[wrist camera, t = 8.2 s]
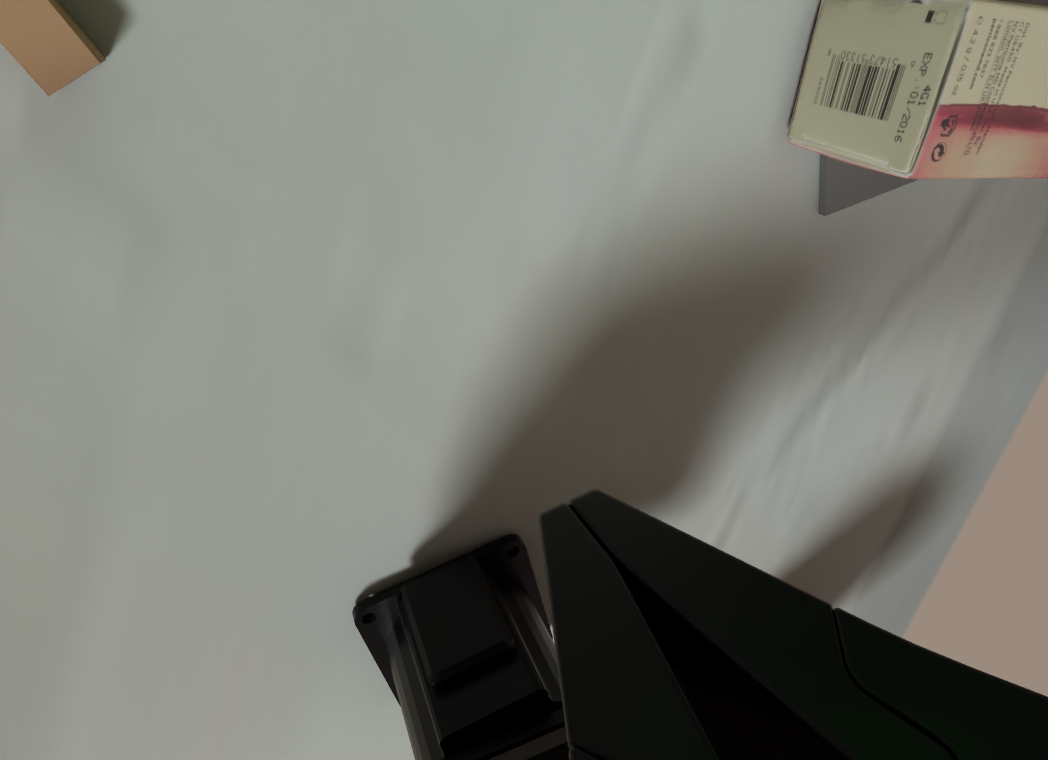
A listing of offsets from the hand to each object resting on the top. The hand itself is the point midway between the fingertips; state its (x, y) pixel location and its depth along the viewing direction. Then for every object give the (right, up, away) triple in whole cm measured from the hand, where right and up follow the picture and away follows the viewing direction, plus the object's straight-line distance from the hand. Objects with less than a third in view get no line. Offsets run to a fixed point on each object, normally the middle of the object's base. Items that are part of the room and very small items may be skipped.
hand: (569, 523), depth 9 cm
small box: (+8, +10, +9) cm, 16 cm away
